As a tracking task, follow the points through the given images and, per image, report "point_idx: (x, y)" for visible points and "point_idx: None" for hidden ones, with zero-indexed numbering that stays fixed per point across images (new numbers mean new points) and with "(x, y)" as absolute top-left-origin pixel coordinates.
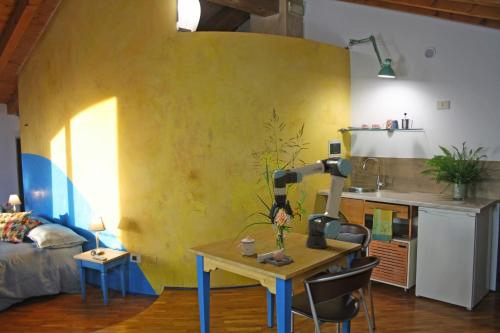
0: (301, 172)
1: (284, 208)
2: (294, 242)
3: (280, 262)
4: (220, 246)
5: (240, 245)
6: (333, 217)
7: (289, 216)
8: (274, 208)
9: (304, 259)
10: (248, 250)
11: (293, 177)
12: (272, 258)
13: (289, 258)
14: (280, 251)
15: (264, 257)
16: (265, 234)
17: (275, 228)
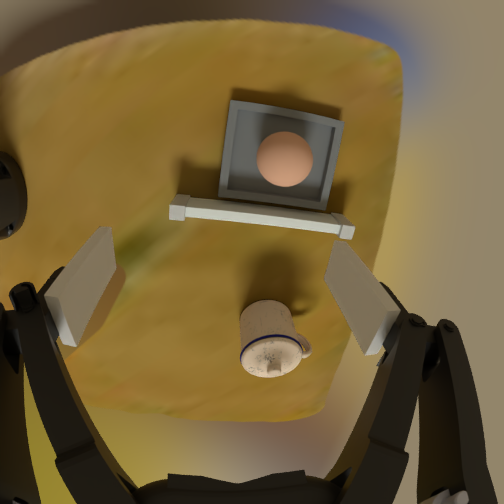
0: None
1: (106, 451)
2: None
3: (321, 119)
4: (255, 402)
5: (307, 351)
6: None
7: (62, 285)
8: (474, 440)
9: (163, 83)
10: (289, 318)
11: None
12: (278, 194)
13: (235, 120)
14: (285, 153)
15: (316, 217)
16: None
17: (342, 243)
